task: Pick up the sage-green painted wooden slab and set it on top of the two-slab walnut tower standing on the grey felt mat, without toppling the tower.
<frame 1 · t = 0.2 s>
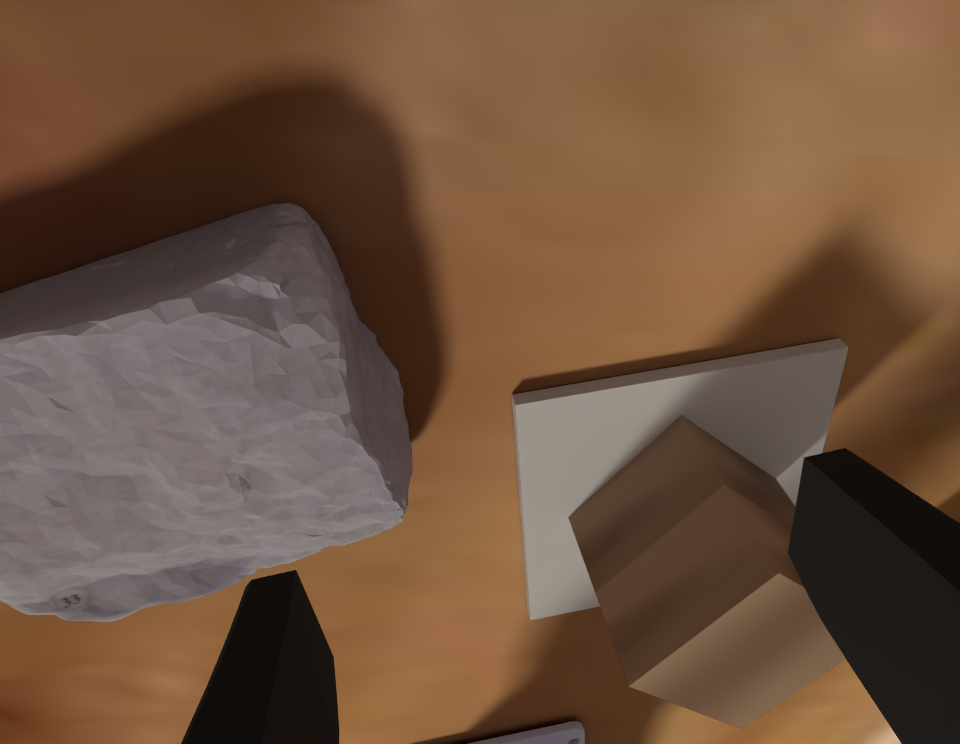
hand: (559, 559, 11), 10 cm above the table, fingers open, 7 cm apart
tower top: (711, 569, 22), point 3 cm above the table, touching tower base
tower base: (673, 497, 25), resting on felt mat, touching tower top
stone block: (180, 403, 21), on the table
felt mat: (667, 487, 25), on the table
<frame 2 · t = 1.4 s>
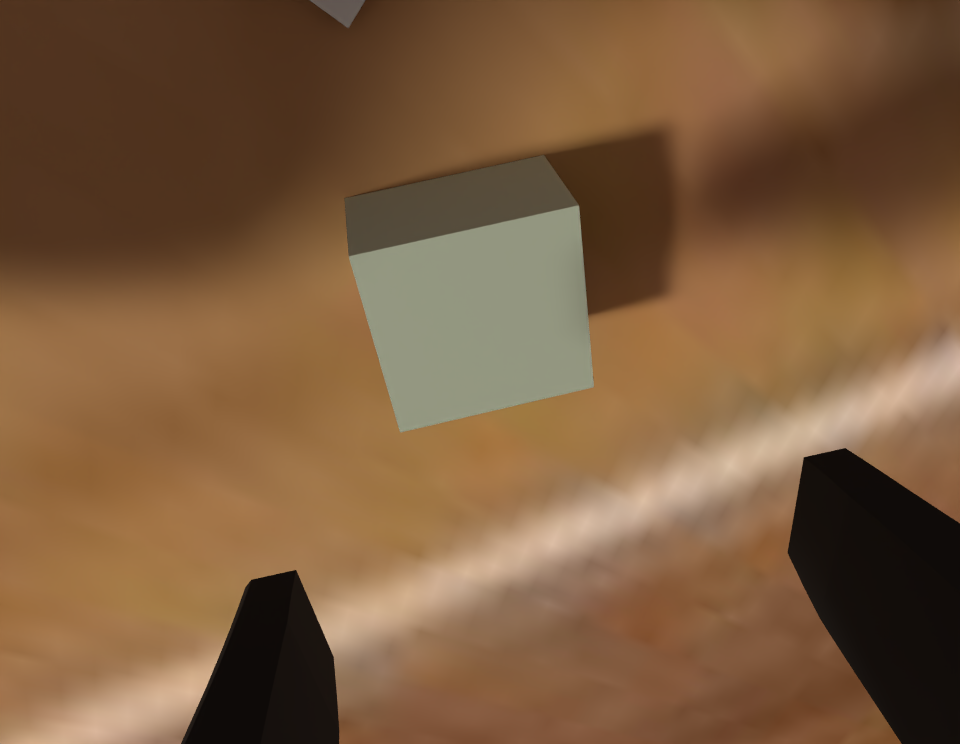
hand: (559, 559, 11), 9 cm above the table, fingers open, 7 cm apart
sage slab: (460, 261, 18), on the table
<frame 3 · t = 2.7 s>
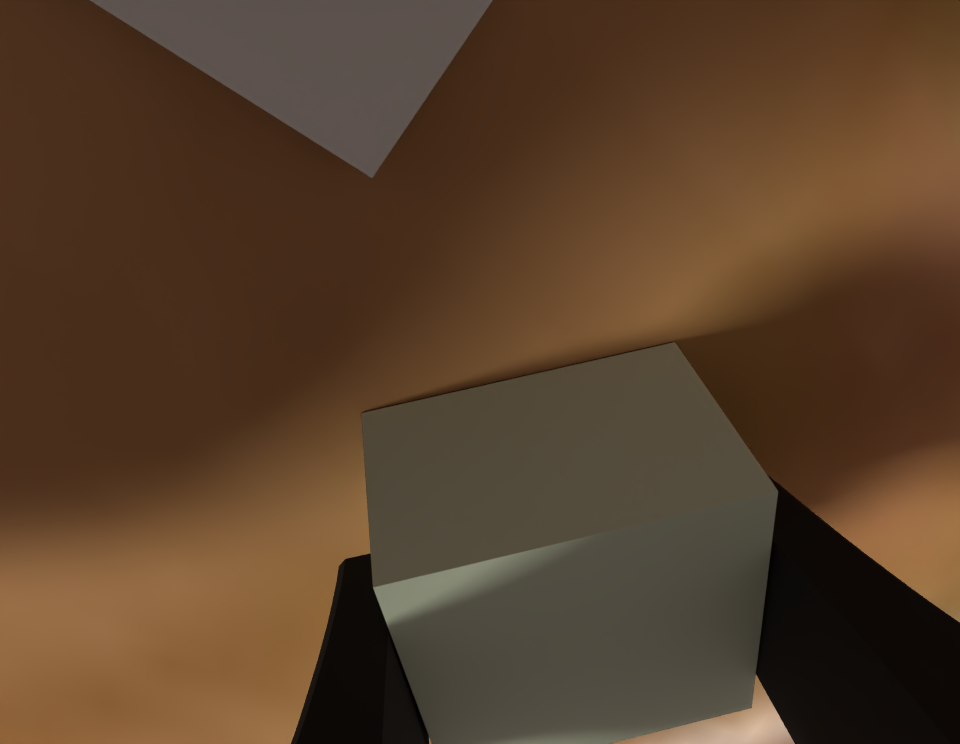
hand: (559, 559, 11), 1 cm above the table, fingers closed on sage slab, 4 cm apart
sage slab: (536, 489, 12), on the table, touching gripper
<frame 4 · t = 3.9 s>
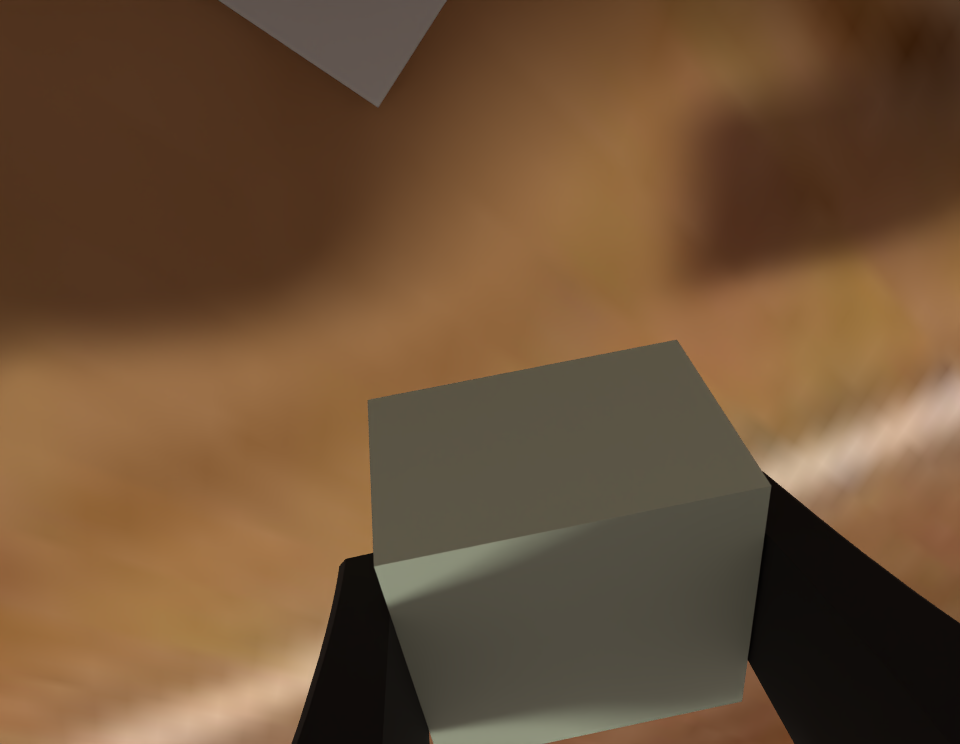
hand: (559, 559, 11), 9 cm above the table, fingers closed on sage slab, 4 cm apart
sage slab: (537, 481, 12), point 7 cm above the table, touching gripper
when the fingers open (9 cm above the table, at t = 5.4 s): sage slab stays where it is, resting on tower top.
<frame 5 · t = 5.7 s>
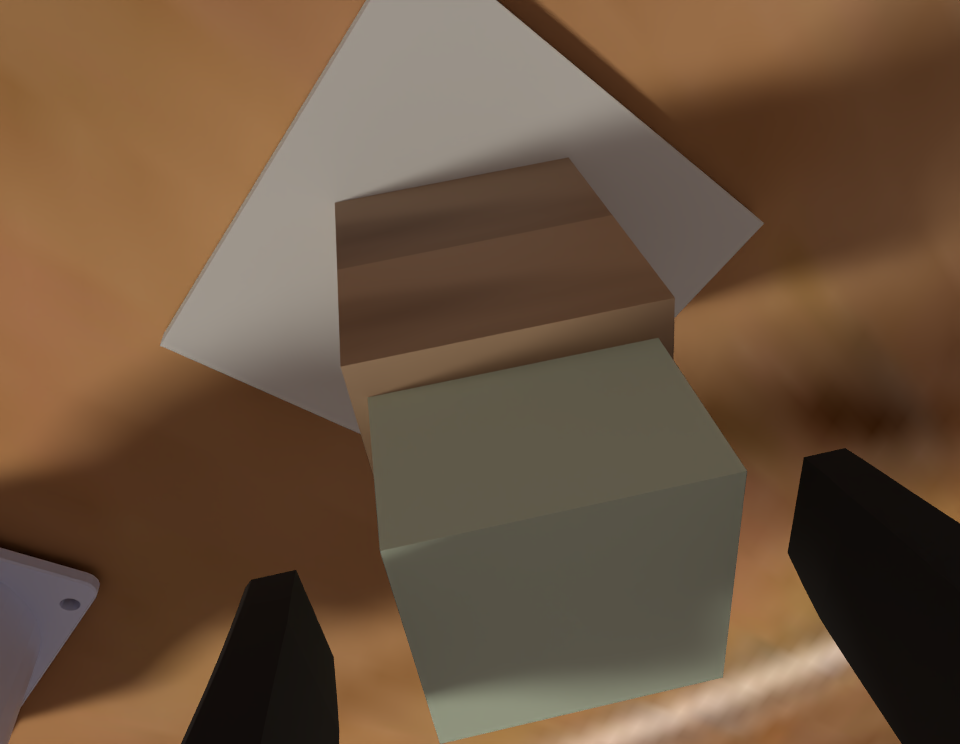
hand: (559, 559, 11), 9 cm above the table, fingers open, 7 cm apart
tower top: (493, 355, 15), point 3 cm above the table, touching sage slab, tower base
tower base: (469, 282, 17), resting on felt mat, touching tower top
sage slab: (527, 473, 13), point 6 cm above the table, touching tower top
felt mat: (465, 272, 18), on the table
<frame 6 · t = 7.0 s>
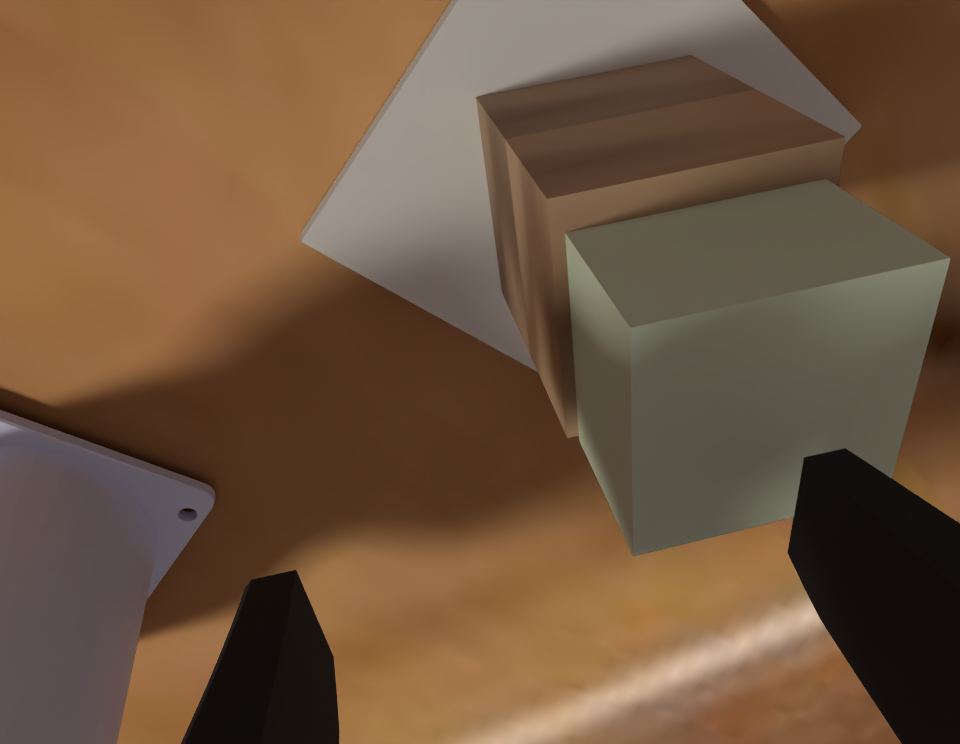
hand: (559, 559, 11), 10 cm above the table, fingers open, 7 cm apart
tower top: (633, 232, 16), point 3 cm above the table, touching sage slab, tower base
tower base: (590, 181, 18), resting on felt mat, touching tower top
sage slab: (692, 320, 14), point 6 cm above the table, touching tower top
felt mat: (583, 174, 19), on the table
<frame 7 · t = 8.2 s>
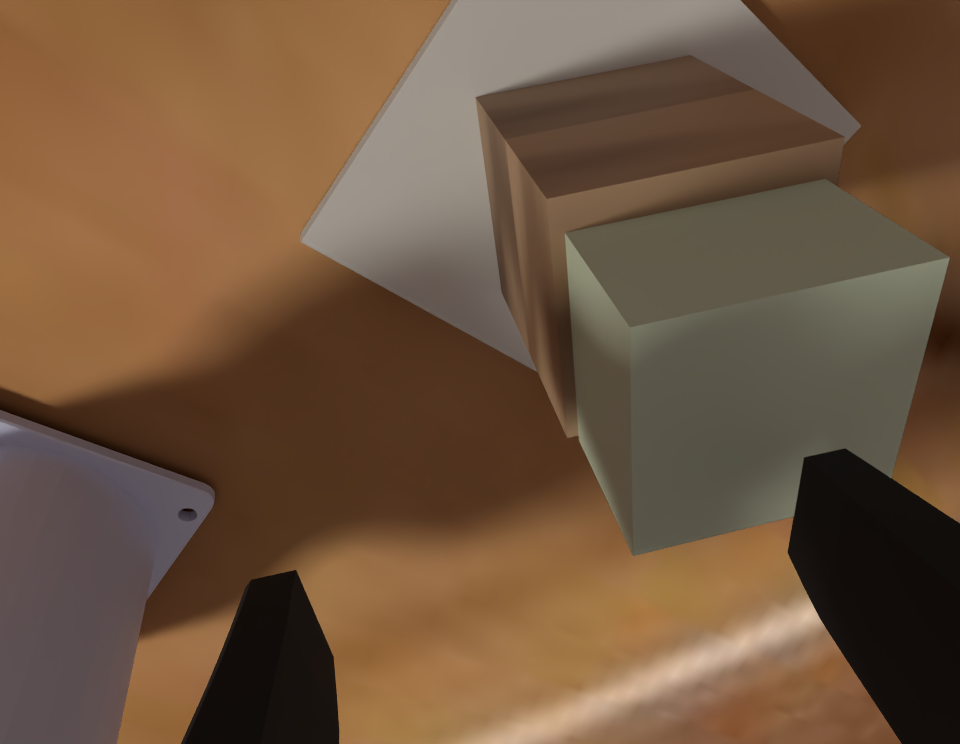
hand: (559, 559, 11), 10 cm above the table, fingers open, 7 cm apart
tower top: (633, 232, 16), point 3 cm above the table, touching sage slab, tower base
tower base: (589, 182, 18), resting on felt mat, touching tower top
sage slab: (691, 320, 14), point 6 cm above the table, touching tower top
felt mat: (583, 174, 19), on the table
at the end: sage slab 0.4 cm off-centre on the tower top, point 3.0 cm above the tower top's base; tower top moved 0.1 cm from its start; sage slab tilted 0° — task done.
